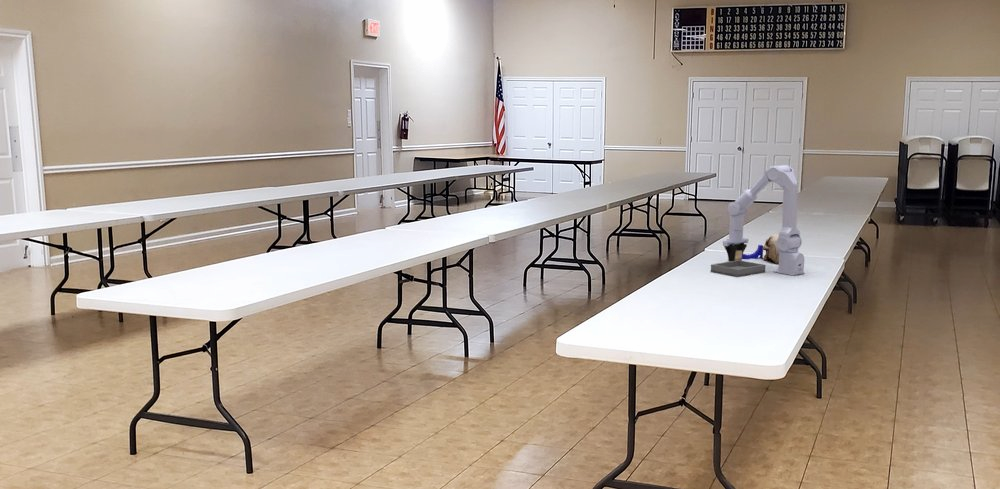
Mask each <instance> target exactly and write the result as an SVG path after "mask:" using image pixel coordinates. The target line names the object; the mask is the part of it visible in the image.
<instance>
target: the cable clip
mask: <svg viewBox="0 0 1000 489" xmlns="http://www.w3.org/2000/svg"><path fill="white" fill-rule="evenodd" d="M763 247H764V245H763V244H758V246H757V248H756V250H755V252H753V253H751V254H745V253H743V255H742V260H750V259H751V260H754V259H755V260H764V250H763Z"/></svg>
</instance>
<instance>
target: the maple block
mask: <svg viewBox="0 0 1000 489" xmlns="http://www.w3.org/2000/svg"><path fill="white" fill-rule="evenodd" d="M736 260H741V261H743V259H742V251H741V250H736V252H735V259H734V261H736ZM727 262H730V261H729V258H728V257H727Z"/></svg>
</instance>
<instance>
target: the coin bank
mask: <svg viewBox="0 0 1000 489" xmlns="http://www.w3.org/2000/svg"><path fill="white" fill-rule="evenodd" d="M778 237H779V233H774V234H772V235H770V236H769V238H766V239H765V243H764V245H763V251H765V254H764V255H763V260H764V261H770V262H771V261H772V262H773V263H774V264H778V265H779V249H778V247H777V245H776V241H777V239H778Z"/></svg>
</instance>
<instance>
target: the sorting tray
mask: <svg viewBox="0 0 1000 489" xmlns="http://www.w3.org/2000/svg"><path fill="white" fill-rule="evenodd" d="M766 268H767V267H766V264H763V263H756V262H751V261H746V260H742V261H741V260H736V261H730V262H728V261H726V262H720V263H714V264H713V263H712V264H711V265H710V272H711V273H715V274H720V275H726V276H731V277H736V278H739V277H740V278H741V277H745V276H750V275H751V274H752V275H757V274H761V273H765V272H766Z"/></svg>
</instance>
